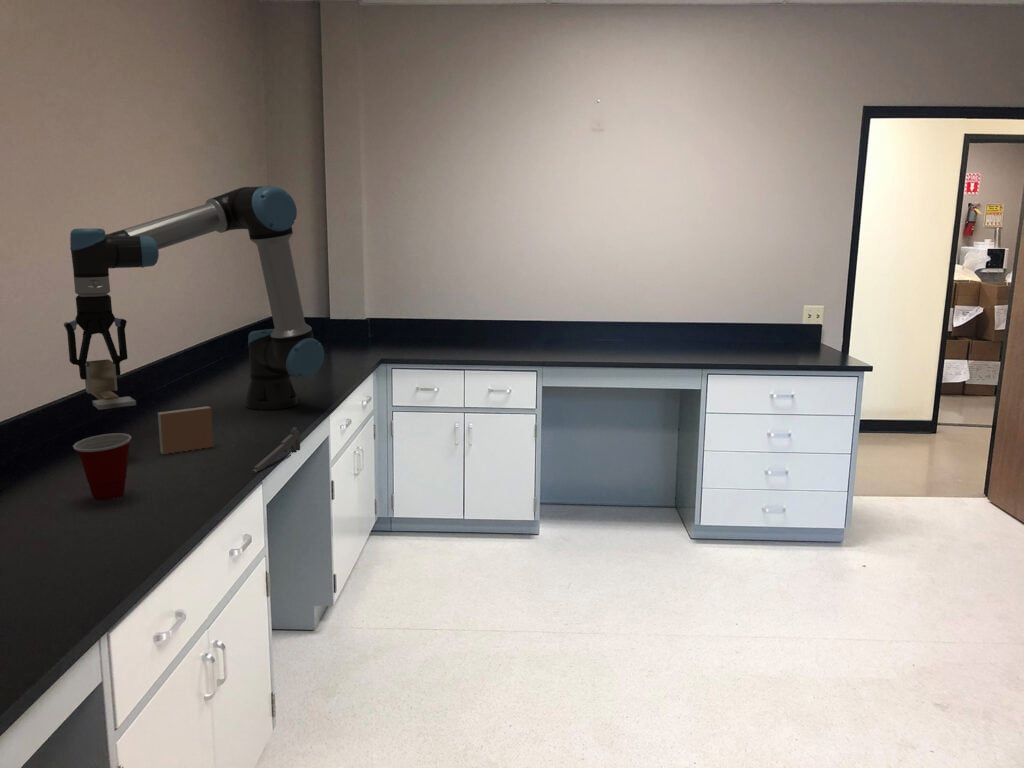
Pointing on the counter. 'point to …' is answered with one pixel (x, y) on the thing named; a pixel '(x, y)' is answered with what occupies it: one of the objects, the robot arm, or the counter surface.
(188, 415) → the tile
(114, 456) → the plastic cup
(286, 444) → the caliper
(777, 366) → the counter surface
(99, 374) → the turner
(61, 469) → the counter surface
